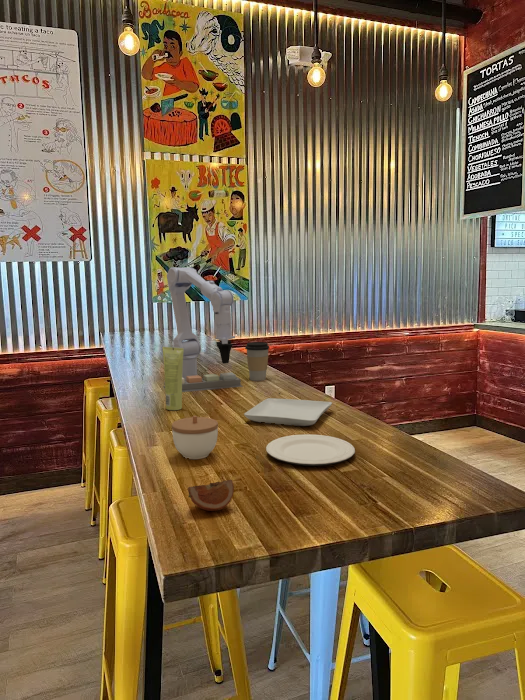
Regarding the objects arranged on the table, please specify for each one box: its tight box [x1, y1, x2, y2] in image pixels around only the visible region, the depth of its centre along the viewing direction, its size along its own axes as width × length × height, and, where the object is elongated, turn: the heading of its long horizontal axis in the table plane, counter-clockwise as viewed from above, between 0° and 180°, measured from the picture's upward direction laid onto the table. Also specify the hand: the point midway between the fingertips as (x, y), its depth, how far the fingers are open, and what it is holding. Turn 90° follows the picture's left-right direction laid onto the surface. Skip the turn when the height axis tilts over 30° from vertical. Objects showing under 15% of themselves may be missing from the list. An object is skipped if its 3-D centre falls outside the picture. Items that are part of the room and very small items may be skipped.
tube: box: [162, 346, 184, 411], centre depth 169 cm, size 6×5×20 cm
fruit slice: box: [187, 479, 235, 512], centre depth 99 cm, size 8×7×5 cm
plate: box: [265, 433, 356, 467], centre depth 128 cm, size 21×21×2 cm
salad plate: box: [243, 397, 333, 427], centre depth 159 cm, size 21×21×3 cm
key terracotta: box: [186, 374, 203, 383], centre depth 196 cm, size 5×5×2 cm
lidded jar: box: [171, 415, 219, 460], centre depth 127 cm, size 11×11×9 cm
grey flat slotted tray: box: [162, 376, 244, 393], centre depth 198 cm, size 12×27×3 cm, turn 112°
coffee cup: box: [244, 341, 271, 382], centre depth 209 cm, size 9×9×15 cm
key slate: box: [219, 372, 237, 380], centre depth 201 cm, size 5×5×2 cm
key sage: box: [202, 373, 220, 382], centre depth 198 cm, size 5×5×2 cm
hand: (225, 362), depth 196 cm, fingers open, 7 cm apart
